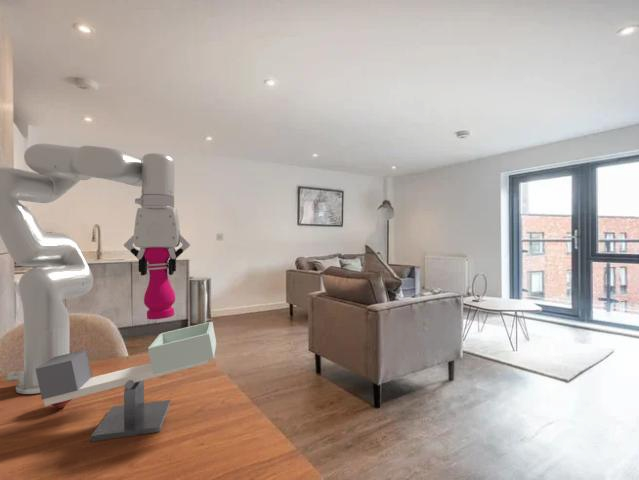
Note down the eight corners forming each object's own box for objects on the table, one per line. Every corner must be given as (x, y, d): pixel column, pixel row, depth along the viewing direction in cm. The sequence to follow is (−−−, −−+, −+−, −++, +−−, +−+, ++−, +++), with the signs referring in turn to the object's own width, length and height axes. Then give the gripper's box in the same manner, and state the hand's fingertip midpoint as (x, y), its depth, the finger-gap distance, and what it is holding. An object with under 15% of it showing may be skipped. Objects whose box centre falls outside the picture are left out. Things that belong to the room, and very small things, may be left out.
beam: (37, 416, 62) (28, 373, 61) (67, 390, 73) (59, 353, 73) (215, 369, 70) (208, 330, 69) (218, 351, 81) (211, 318, 81)
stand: (90, 441, 64) (90, 398, 64) (112, 411, 75) (112, 375, 75) (159, 431, 67) (159, 391, 67) (170, 404, 78) (170, 369, 78)
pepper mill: (164, 319, 81) (159, 237, 81) (138, 320, 82) (133, 238, 82) (182, 313, 88) (178, 237, 88) (157, 313, 89) (153, 238, 89)
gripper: (115, 200, 80) (114, 277, 80) (192, 203, 84) (191, 275, 84) (125, 204, 87) (124, 274, 87) (195, 206, 91) (195, 272, 91)
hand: (157, 274), depth 85 cm, fingers closed on pepper mill, 5 cm apart
